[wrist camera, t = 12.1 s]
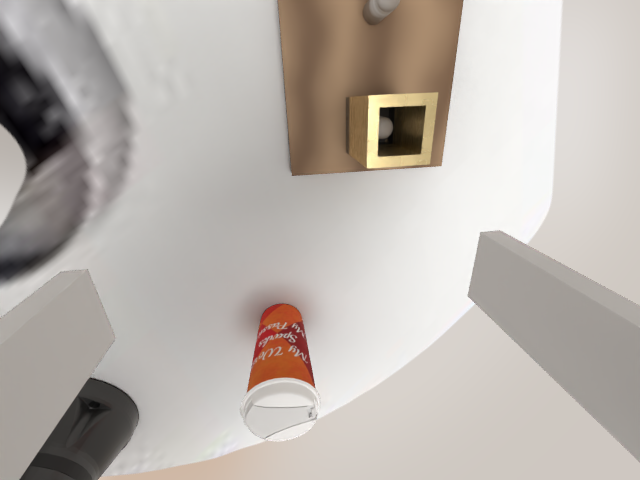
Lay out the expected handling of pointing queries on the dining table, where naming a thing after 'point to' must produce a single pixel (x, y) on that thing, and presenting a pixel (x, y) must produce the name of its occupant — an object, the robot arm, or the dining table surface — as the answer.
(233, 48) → the dining table surface
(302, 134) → the pin board
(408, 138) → the sleeve
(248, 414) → the paper cup
